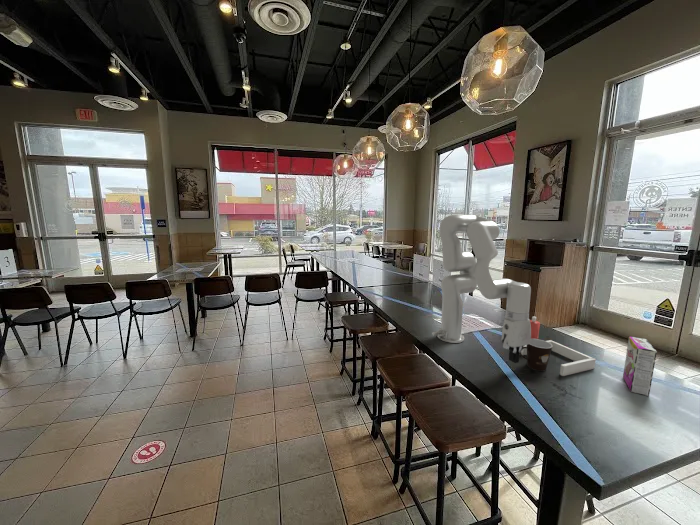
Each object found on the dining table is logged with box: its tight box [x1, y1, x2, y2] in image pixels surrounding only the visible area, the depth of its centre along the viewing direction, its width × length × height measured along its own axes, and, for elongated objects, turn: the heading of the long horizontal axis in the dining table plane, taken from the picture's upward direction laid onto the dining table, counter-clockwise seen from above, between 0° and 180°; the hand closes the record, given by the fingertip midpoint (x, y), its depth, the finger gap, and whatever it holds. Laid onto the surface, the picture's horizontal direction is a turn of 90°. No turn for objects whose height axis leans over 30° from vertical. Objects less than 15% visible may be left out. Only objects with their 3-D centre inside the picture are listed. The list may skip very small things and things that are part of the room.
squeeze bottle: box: [530, 316, 541, 339], centre depth 138 cm, size 5×5×12 cm
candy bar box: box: [622, 336, 658, 397], centre depth 102 cm, size 11×5×16 cm, turn 148°
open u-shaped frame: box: [521, 339, 597, 377], centre depth 121 cm, size 17×18×4 cm
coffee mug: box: [519, 338, 552, 372], centre depth 116 cm, size 12×9×10 cm
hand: (513, 361), depth 112 cm, fingers closed
